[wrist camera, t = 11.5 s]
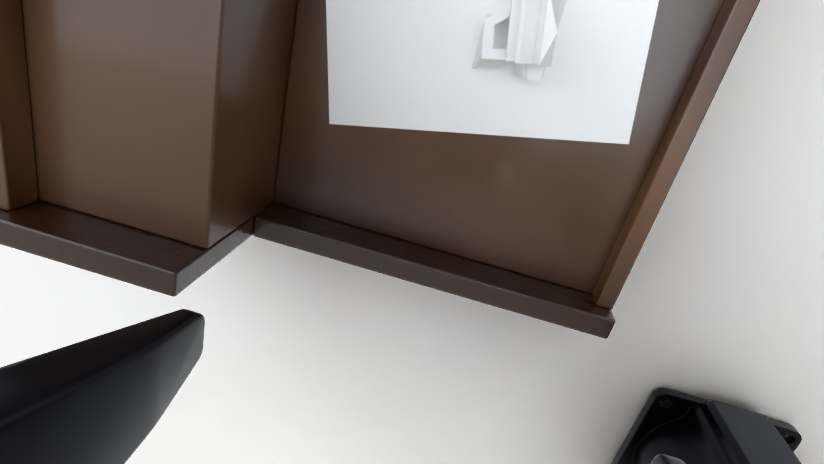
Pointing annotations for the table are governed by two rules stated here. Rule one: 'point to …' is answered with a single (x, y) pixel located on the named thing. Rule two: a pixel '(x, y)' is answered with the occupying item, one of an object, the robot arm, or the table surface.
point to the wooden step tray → (321, 156)
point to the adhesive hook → (490, 66)
